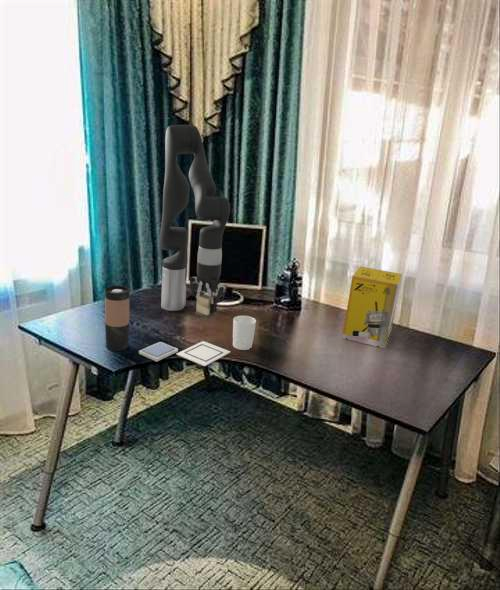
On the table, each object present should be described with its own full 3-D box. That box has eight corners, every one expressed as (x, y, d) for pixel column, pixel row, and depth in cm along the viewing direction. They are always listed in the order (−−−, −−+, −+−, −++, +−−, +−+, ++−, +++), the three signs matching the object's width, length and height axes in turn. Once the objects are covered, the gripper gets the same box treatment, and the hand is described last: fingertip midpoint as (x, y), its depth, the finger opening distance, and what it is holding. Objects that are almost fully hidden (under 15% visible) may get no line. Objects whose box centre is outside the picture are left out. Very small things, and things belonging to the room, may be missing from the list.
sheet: (203, 341, 172) (203, 340, 172) (230, 352, 166) (230, 351, 166) (176, 354, 161) (176, 353, 160) (204, 366, 155) (204, 365, 154)
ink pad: (160, 344, 167) (160, 340, 166) (177, 351, 163) (178, 348, 162) (138, 353, 159) (138, 350, 158) (156, 361, 155) (156, 358, 154)
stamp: (204, 310, 162) (205, 293, 160) (216, 314, 159) (217, 296, 157) (195, 313, 158) (196, 296, 156) (206, 318, 155) (208, 300, 153)
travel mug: (133, 344, 165) (134, 288, 158) (120, 353, 158) (120, 295, 151) (114, 339, 167) (114, 284, 160) (100, 348, 160) (99, 290, 154)
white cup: (257, 345, 173) (259, 319, 170) (247, 353, 167) (250, 326, 163) (237, 339, 176) (239, 313, 173) (227, 347, 169) (229, 320, 166)
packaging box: (385, 349, 180) (398, 284, 172) (341, 338, 185) (352, 276, 177) (390, 334, 194) (402, 274, 186) (350, 324, 200) (360, 266, 192)
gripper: (234, 263, 152) (230, 314, 158) (199, 254, 159) (196, 303, 165) (220, 268, 146) (216, 320, 152) (184, 257, 153) (181, 308, 159)
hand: (206, 311), depth 158 cm, fingers closed on stamp, 4 cm apart
